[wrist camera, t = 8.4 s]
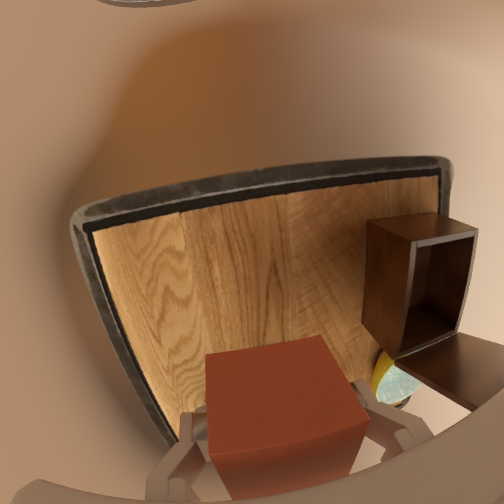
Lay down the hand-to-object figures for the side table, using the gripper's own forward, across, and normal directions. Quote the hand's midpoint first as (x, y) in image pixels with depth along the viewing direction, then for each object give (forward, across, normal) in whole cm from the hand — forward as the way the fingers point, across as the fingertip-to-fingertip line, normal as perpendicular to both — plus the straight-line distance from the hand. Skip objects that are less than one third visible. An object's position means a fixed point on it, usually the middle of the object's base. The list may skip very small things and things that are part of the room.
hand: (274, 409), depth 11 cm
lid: (+5, -22, +10) cm, 24 cm away
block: (+2, 0, 0) cm, 2 cm away
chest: (+21, -22, +6) cm, 31 cm away
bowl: (+21, -23, +21) cm, 38 cm away
